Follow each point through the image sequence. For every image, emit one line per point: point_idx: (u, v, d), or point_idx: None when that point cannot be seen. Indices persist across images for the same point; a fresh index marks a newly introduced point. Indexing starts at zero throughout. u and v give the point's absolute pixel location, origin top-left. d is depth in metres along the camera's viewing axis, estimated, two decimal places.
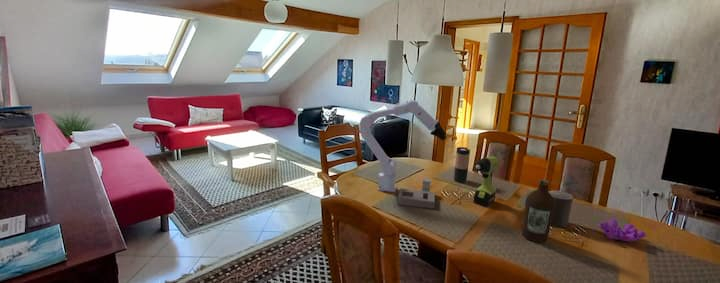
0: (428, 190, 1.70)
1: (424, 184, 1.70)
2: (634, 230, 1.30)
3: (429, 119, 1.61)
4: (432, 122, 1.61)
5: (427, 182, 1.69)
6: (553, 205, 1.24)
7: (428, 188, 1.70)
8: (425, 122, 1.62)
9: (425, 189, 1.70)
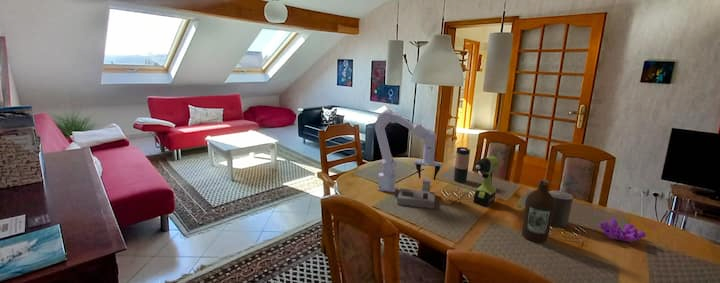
0: (428, 190, 1.70)
1: (424, 184, 1.70)
2: (634, 230, 1.30)
3: (423, 157, 1.66)
4: (423, 161, 1.67)
5: (427, 182, 1.69)
6: (553, 205, 1.24)
7: (428, 188, 1.70)
8: None
9: (425, 189, 1.70)
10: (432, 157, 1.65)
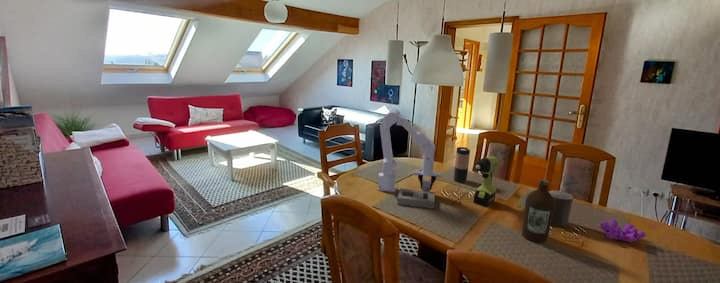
0: (428, 190, 1.70)
1: (424, 184, 1.70)
2: (634, 230, 1.30)
3: (423, 167, 1.68)
4: (422, 171, 1.69)
5: (427, 182, 1.69)
6: (553, 205, 1.24)
7: (428, 188, 1.70)
8: None
9: (425, 189, 1.70)
10: (431, 168, 1.66)
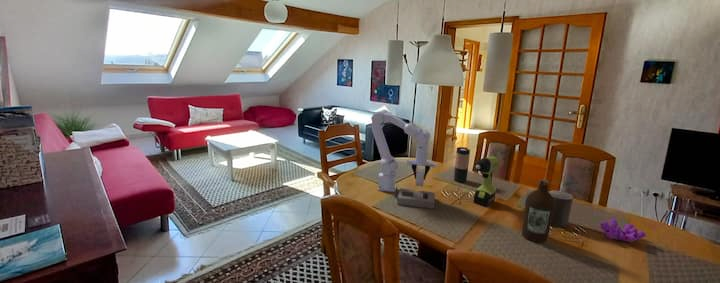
0: (422, 181, 1.65)
1: (418, 174, 1.65)
2: (634, 230, 1.30)
3: (416, 157, 1.63)
4: (416, 161, 1.63)
5: (421, 173, 1.64)
6: (553, 205, 1.24)
7: (422, 179, 1.65)
8: None
9: (419, 180, 1.65)
10: (425, 157, 1.61)
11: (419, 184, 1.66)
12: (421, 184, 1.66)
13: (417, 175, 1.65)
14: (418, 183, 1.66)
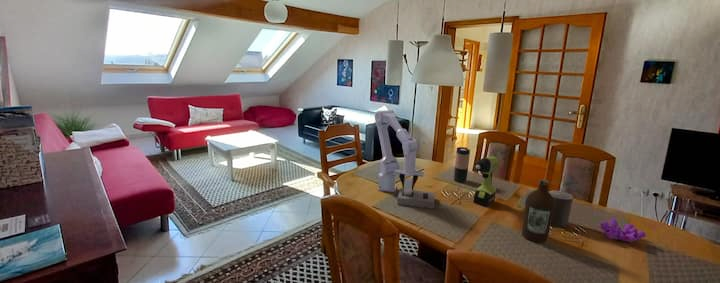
0: (410, 190, 1.61)
1: (406, 184, 1.60)
2: (634, 230, 1.30)
3: (404, 166, 1.59)
4: (404, 170, 1.59)
5: (409, 182, 1.60)
6: (553, 205, 1.24)
7: (410, 188, 1.60)
8: None
9: (407, 189, 1.61)
10: (413, 166, 1.57)
11: (407, 194, 1.62)
12: (409, 194, 1.61)
13: (405, 185, 1.61)
14: (406, 193, 1.62)
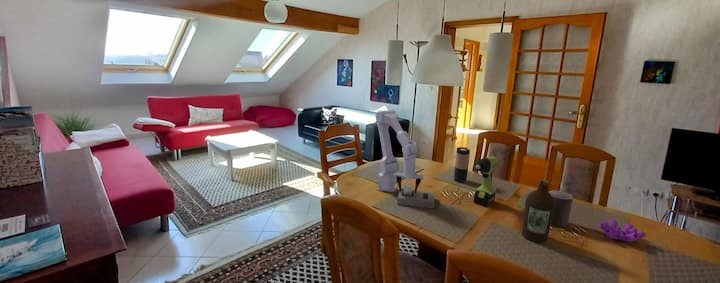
0: (409, 196, 1.62)
1: (405, 190, 1.61)
2: (634, 230, 1.30)
3: (404, 169, 1.59)
4: (403, 173, 1.60)
5: (408, 188, 1.61)
6: (553, 205, 1.24)
7: (409, 194, 1.61)
8: None
9: (406, 195, 1.62)
10: (412, 169, 1.58)
11: None
12: None
13: (405, 191, 1.62)
14: None
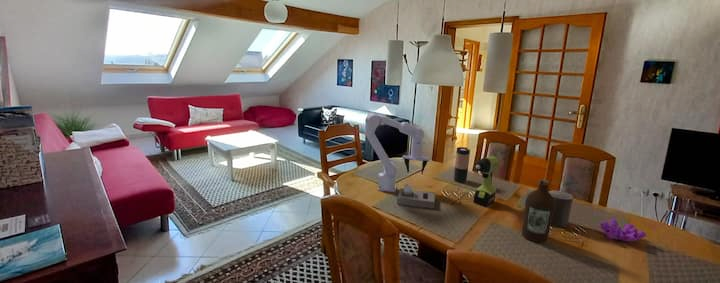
0: (409, 196, 1.62)
1: (405, 190, 1.61)
2: (634, 230, 1.30)
3: (411, 152, 1.73)
4: (411, 155, 1.73)
5: (408, 188, 1.61)
6: (553, 205, 1.24)
7: (409, 194, 1.61)
8: None
9: (406, 195, 1.62)
10: (419, 152, 1.71)
11: None
12: None
13: (405, 191, 1.62)
14: None
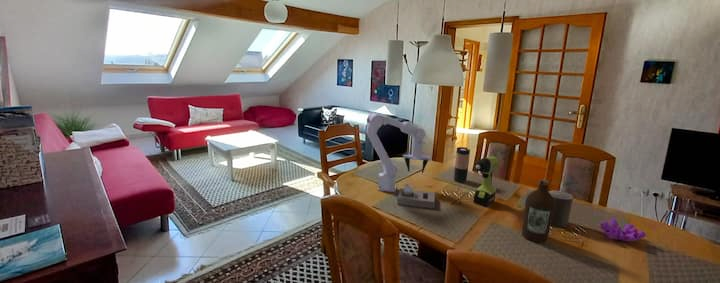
0: (409, 196, 1.62)
1: (405, 190, 1.61)
2: (634, 230, 1.30)
3: (412, 151, 1.74)
4: (412, 155, 1.75)
5: (408, 188, 1.61)
6: (553, 205, 1.24)
7: (409, 194, 1.61)
8: None
9: (406, 195, 1.62)
10: (420, 151, 1.73)
11: None
12: None
13: (405, 191, 1.62)
14: None
